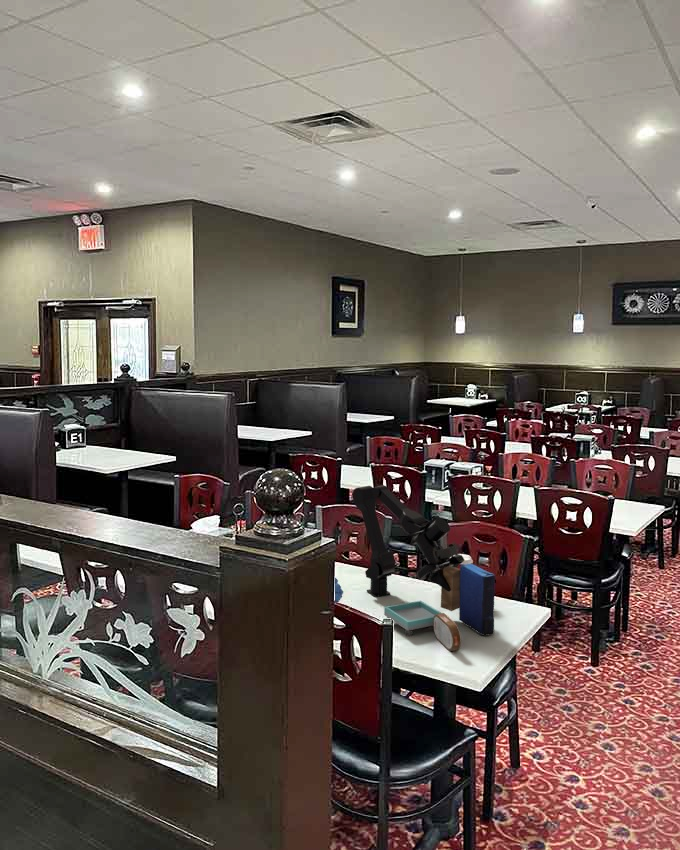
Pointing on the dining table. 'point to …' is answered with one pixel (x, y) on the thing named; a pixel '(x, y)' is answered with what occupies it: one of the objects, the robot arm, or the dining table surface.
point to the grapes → (338, 591)
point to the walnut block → (452, 597)
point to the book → (477, 598)
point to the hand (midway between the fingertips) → (454, 589)
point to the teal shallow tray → (411, 615)
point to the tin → (447, 632)
